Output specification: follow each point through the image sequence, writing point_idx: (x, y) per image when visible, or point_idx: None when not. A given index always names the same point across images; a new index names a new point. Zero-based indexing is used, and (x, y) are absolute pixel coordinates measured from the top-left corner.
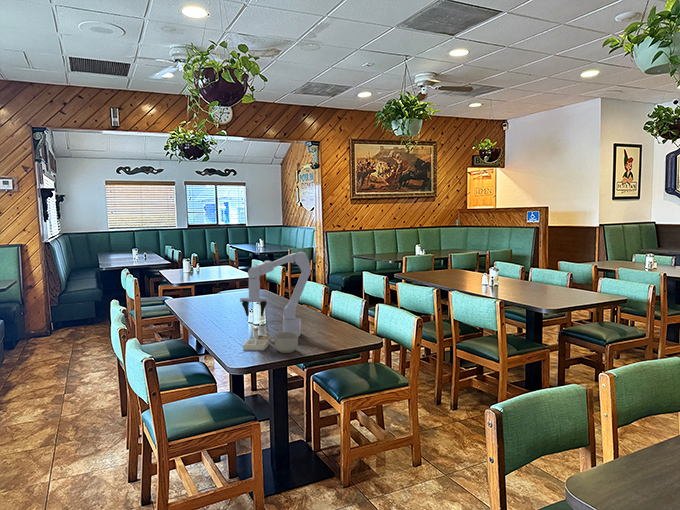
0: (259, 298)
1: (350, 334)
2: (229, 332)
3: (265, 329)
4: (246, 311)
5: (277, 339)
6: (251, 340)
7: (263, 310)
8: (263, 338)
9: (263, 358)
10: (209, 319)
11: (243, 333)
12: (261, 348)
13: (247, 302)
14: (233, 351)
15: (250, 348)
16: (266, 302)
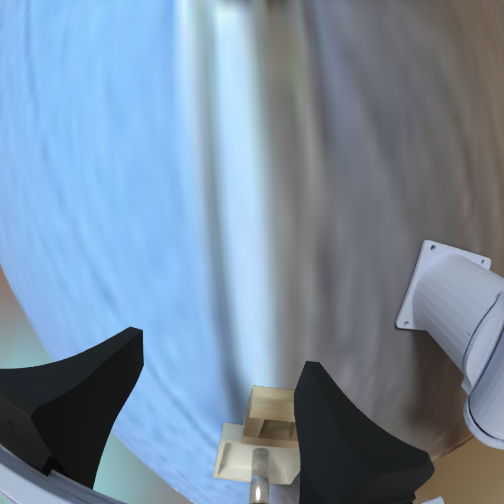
0: None
1: None
2: (73, 179)
3: (307, 105)
4: (116, 404)
5: None
6: (236, 440)
7: (338, 403)
8: (292, 446)
9: (283, 499)
10: None
11: (153, 211)
12: (280, 474)
13: (66, 468)
14: (187, 464)
15: (241, 471)
16: (405, 502)
